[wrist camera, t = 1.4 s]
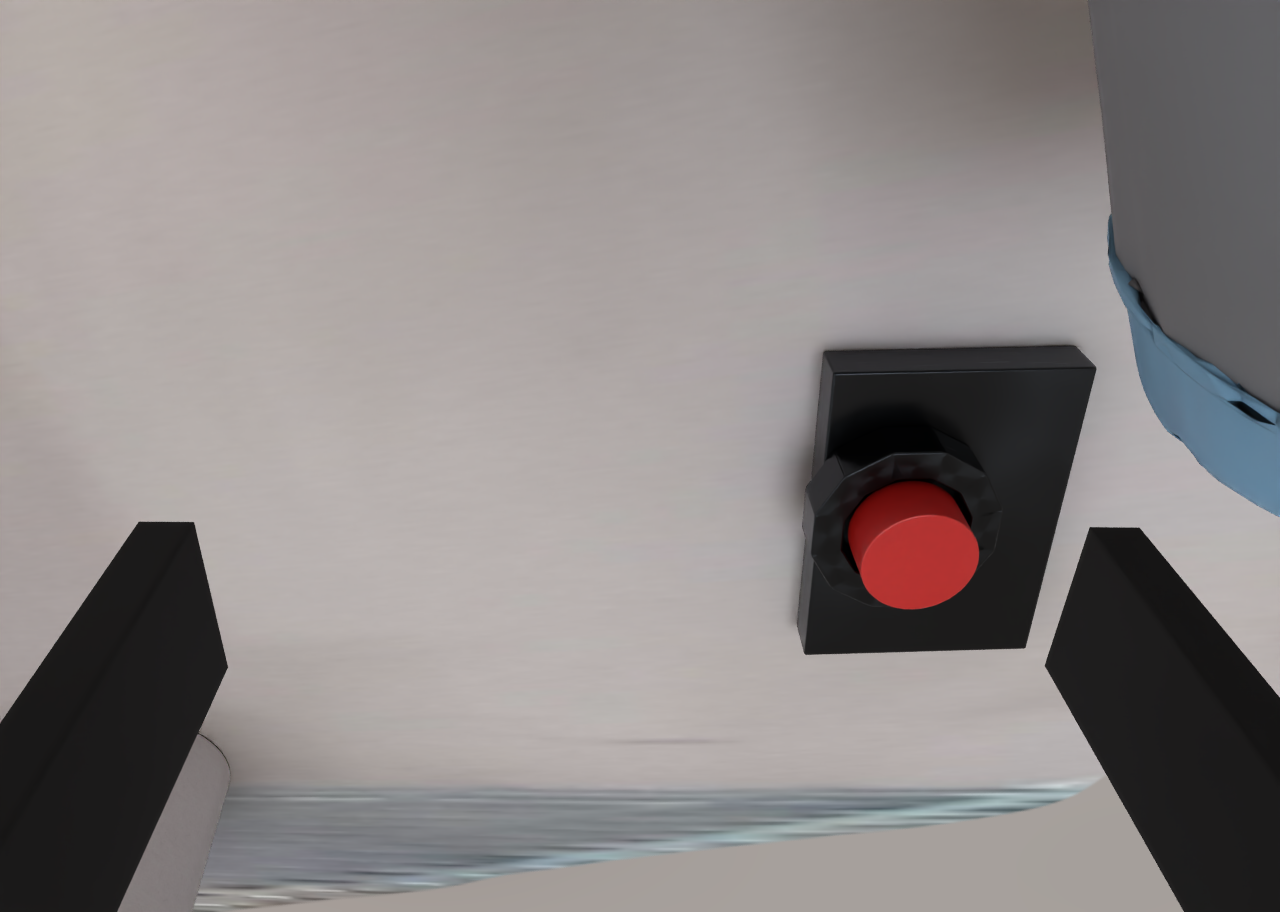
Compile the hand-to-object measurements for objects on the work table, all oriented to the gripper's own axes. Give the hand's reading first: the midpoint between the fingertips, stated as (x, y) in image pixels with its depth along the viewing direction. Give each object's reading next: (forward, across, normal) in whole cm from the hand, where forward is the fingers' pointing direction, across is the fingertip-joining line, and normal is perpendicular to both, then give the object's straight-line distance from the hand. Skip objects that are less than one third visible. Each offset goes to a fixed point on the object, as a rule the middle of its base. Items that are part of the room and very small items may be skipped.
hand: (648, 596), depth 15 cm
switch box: (+23, +14, -13) cm, 30 cm away
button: (+20, +11, -12) cm, 26 cm away
